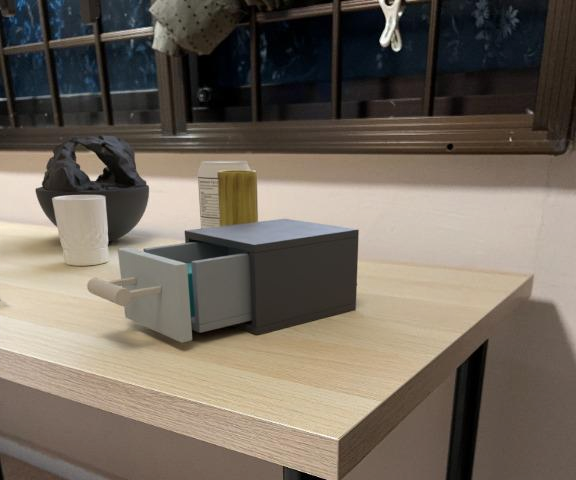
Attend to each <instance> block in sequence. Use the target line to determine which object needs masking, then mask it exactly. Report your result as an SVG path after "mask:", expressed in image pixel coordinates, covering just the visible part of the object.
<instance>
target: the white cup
mask: <svg viewBox="0 0 576 480" xmlns="http://www.w3.org/2000/svg"><path fill="white" fill-rule="evenodd" d="M52 202H53V207H54V212H55V217H56V223H57V227H56V229H57V232H58V233H57V234H58V236H59V241H60V246H61V248H62V253H63V261H64V263H65V265H69V266H80V267H86V266H96V265H102V264H106V263H108V262H109V261H110V252H109V246H108V245H109V241H108V224H107V211H106V197H105V196H102V195H69V196H59V197H54V198H52Z"/></svg>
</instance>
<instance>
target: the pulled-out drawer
mask: <svg viewBox="0 0 576 480" xmlns="http://www.w3.org/2000/svg"><path fill="white" fill-rule="evenodd" d="M117 254H118V255H117V256H118V263H119V274H120V279H119V278H118V279H113V280H108V281H107V280H104V279H101V278H99V277H92V278H90V279H89V280H88V282H87V283H86V287H87V288H86V289H87V291H88V292H89V293H90V294H92V295H95V296H97V297H99V298H101V299H103V300H106V301H109V302H110V303H113V304H115V305H117V306H119V307H123V309H124V318H126V319H128V320H130V321H132V322H135V323H136V324H139V325H141V326H143V327H146V328H147V329H150V330H152V331H154V332H157V333H159V334H161V335H163V336H165V337H167V338H170V339H172V340H174V341H177V342H178V343H182V344H183V343H187V342H191V341H193V331H195V332H197V333H200V334H202V333H206V332H210V331H213V330H217V329H218V330H219V329H221V328H226V327H230V326H231V325H235V324H239V323H243V322H247V321H251V320H252V311H251V278H250V252H248V251H243V250H238V249H234V248H229V247H225V246H220V245H216V244H211V243H207V242H202V241H197V242H189V243H185V242H182V243H174V244H168V245H167V244H166V245H161V246H160V245H159V246H153V247H145V248H143V249H142V250H139V249H135V248H131V247H120V248H117ZM188 263H191V265H192V280H193V295H194V310H195V316H194V317H191V314H190V300H189V286H188V271H187V264H188Z"/></svg>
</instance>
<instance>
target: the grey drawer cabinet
mask: <svg viewBox="0 0 576 480" xmlns="http://www.w3.org/2000/svg"><path fill="white" fill-rule="evenodd" d="M359 231H360V230H359V229H358V228H352V227H344V226H337V225H331V224H325V223H324V224H323V223H318V222H310V221H303V220H296V219H290V218H279V219H271V220H262V221H261V220H260V221H258V222H253V223H244V224H236V225H228V226H219V227H211V228H202V229H201V228H196V229H195V228H194V229H187V230H186V229H185V230H184V243H189V242H197V241H202V242H207V243H211V244H216V245H220V246H225V247H229V248H234V249H238V250H243V251H248V252H250V278H251V311H252V320H251V321H247V322H243V323H239V324H235V325H230V326H231V327H234V328H236V329H239V330H242V331H244V332H247V333H250V334H252V335H255V336H259V335H263V334H267V333H270V332H275V331H278V330H279V331H280V330H282V329H285V328H289V327H293V326H299V325H302V324H305V323H309V322H313V321H318V320H320V319H321V320H322V319H324V318H328V317H332V316H335V315H340V314H344V313H347V312H350V311H355V310H356V309H357V293H358V292H357V290H358V289H357V287H358V260H359V235H360V233H359Z"/></svg>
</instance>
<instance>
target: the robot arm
mask: <svg viewBox="0 0 576 480" xmlns="http://www.w3.org/2000/svg"><path fill="white" fill-rule="evenodd" d="M79 6H80V7H79V8H80V16H81V22H82V24H83V25H85V26H92V25H95V24H96V23H97V19H100V14H101V8H100V0H79ZM0 12H1V15H2V17H4V18H12V17H14V16H16V13H17V11H16V4H15V0H0Z"/></svg>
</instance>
